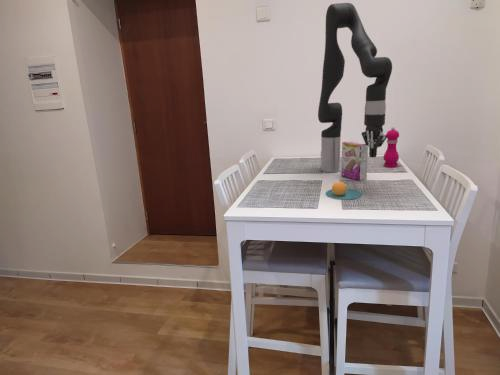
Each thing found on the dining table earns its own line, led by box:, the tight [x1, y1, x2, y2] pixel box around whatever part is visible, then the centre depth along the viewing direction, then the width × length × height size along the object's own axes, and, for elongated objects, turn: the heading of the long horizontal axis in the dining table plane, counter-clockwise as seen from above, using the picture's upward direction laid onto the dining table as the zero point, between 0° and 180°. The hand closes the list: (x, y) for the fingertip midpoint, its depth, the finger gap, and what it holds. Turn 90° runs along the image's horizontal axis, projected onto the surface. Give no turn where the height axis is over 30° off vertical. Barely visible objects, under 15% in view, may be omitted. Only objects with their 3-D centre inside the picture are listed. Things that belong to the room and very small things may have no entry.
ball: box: [331, 181, 347, 196], centre depth 132 cm, size 6×6×6 cm
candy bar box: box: [341, 140, 369, 182], centre depth 153 cm, size 11×5×16 cm, turn 31°
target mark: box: [325, 187, 363, 201], centre depth 134 cm, size 14×14×1 cm
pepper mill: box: [382, 126, 400, 169], centre depth 169 cm, size 7×7×20 cm
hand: (372, 157), depth 134 cm, fingers closed
